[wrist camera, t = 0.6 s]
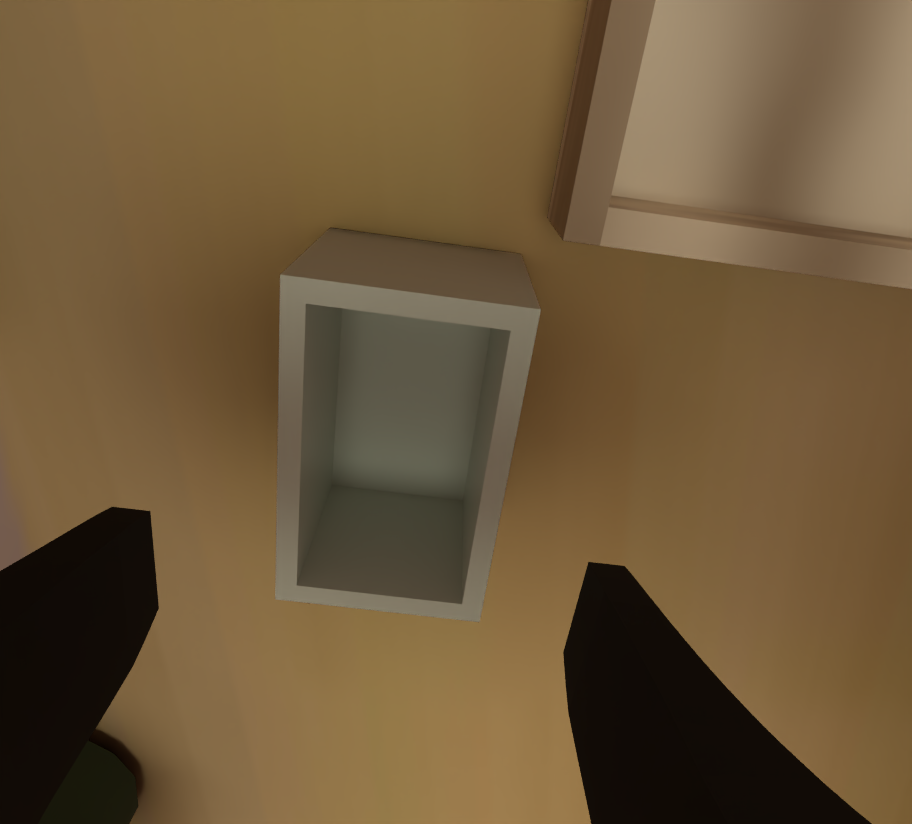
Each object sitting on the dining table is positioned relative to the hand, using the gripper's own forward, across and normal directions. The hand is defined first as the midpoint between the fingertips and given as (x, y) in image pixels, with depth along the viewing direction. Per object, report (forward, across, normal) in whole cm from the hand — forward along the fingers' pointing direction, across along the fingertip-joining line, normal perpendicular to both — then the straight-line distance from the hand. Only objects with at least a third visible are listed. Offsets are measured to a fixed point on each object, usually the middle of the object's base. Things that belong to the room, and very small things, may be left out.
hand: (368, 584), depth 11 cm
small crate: (+9, 0, 0) cm, 9 cm away
